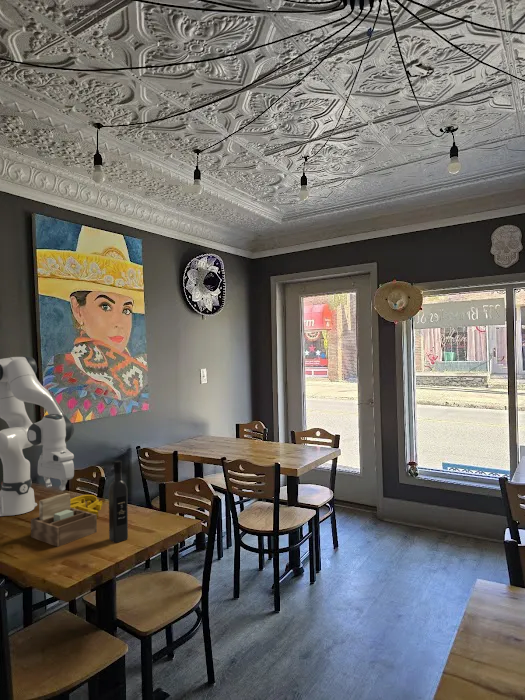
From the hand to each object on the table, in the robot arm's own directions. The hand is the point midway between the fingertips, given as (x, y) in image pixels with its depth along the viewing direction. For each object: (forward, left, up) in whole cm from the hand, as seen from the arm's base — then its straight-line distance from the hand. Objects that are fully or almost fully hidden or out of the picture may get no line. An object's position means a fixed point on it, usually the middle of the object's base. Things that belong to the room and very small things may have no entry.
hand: (55, 488), depth 185 cm
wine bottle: (+29, +8, -18) cm, 35 cm away
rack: (+5, 0, -17) cm, 18 cm away
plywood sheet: (0, 0, -18) cm, 18 cm away
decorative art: (-14, +23, -18) cm, 33 cm away
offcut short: (+5, 0, -12) cm, 13 cm away
